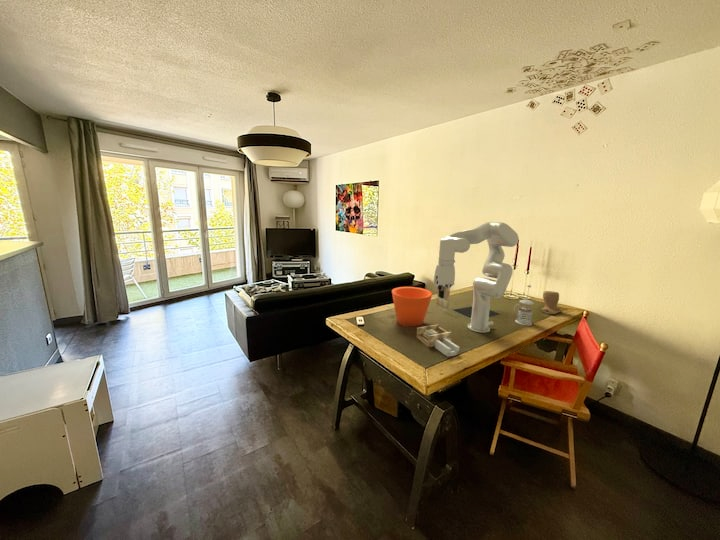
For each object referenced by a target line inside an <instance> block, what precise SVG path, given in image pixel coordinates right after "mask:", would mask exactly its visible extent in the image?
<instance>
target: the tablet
mask: <svg viewBox="0 0 720 540" xmlns="http://www.w3.org/2000/svg"><path fill="white" fill-rule="evenodd" d="M451 311H452V312H454V313H456V314H458V313H459V314H458V315H461V316H463V317H466V318H468V319H470V320H471V315H472V306H466V307H461V308H455V309H452V310H451ZM501 315H502V314H501V313H498V312H496V311H493V310H491V309H490V311H489V318H492V317H496V316H501Z"/></svg>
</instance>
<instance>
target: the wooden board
mask: <svg viewBox="0 0 720 540" xmlns="http://www.w3.org/2000/svg"><path fill="white" fill-rule="evenodd" d="M443 291H444V297H443V298H440V297H439V290H438V289H437V296H436V307H437V308H439V309H440V310H443V311H445V312H446V311H449V305H450V292H451V288H449V287H447V286H445V285H444V287H443Z"/></svg>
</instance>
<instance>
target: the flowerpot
mask: <svg viewBox="0 0 720 540" xmlns="http://www.w3.org/2000/svg"><path fill="white" fill-rule="evenodd" d="M391 294H392V301H393V306H394V312H395V315H396V317H395V318H396V322H397V323H398V324H399V325H400V326H403V327H407V328H408V327H415V326H416V327H417V326H421V325H422V326H423V323H424V321H425V318H426V315H427V311H428V309H429V306H430V303H431V300H432V297H433V292H432V291H430V290H429V289H425V288H422V287H417V286H416V287H415V286H399V287H395V288H393V289H392V290H391Z"/></svg>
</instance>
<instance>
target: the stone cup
mask: <svg viewBox="0 0 720 540" xmlns="http://www.w3.org/2000/svg"><path fill="white" fill-rule="evenodd" d="M542 299H543V303H544V307H542V308H541V309H540V311H542V312H543V313H545V314H548V315H555V314H558V313H561V312H562V309H561V308H558V306H557V305H558V303H559V301H560V293H559V292H558V291H552V290H548V291H547V290H545V291H543V293H542Z"/></svg>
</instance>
